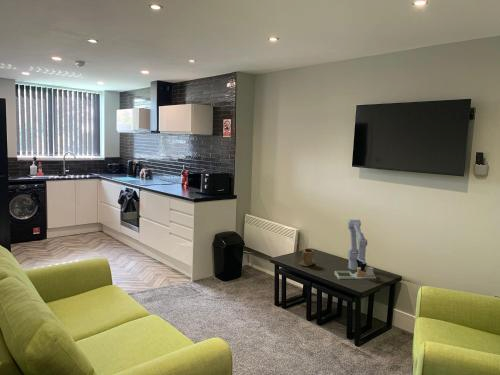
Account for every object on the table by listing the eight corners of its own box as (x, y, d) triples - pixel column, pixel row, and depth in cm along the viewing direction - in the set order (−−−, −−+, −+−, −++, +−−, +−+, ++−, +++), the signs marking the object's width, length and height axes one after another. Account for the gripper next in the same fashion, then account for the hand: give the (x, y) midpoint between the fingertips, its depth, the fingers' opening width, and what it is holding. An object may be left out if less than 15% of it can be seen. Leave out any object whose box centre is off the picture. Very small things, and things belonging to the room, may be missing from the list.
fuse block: (351, 274, 323) (351, 270, 323) (372, 274, 324) (372, 270, 324) (355, 279, 313) (355, 275, 313) (376, 279, 314) (376, 275, 314)
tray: (334, 274, 324) (334, 271, 324) (349, 274, 325) (349, 271, 324) (338, 280, 311) (339, 276, 311) (354, 280, 312) (354, 276, 311)
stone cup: (306, 268, 336) (307, 252, 334) (297, 264, 346) (297, 248, 344) (318, 265, 346) (319, 249, 343) (309, 261, 355) (309, 245, 353)
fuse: (365, 275, 320) (366, 267, 319) (371, 275, 321) (371, 267, 320) (366, 276, 317) (367, 268, 316) (372, 276, 318) (373, 268, 317)
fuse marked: (356, 275, 320) (357, 267, 319) (362, 275, 320) (363, 267, 319) (357, 276, 317) (358, 268, 316) (363, 276, 317) (364, 268, 316)
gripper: (354, 250, 323) (353, 266, 325) (360, 256, 308) (358, 272, 310) (362, 250, 323) (361, 266, 325) (368, 256, 309) (367, 272, 311)
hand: (360, 269), depth 318 cm, fingers open, 7 cm apart
